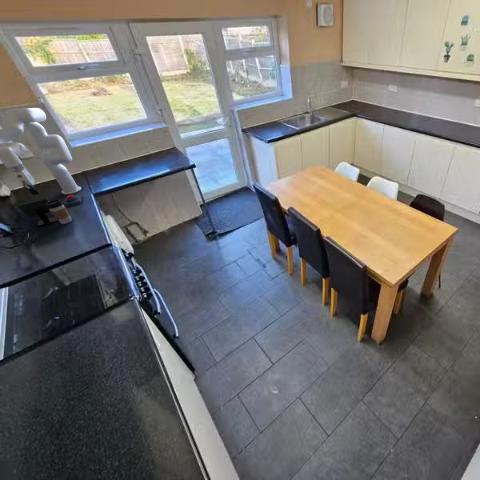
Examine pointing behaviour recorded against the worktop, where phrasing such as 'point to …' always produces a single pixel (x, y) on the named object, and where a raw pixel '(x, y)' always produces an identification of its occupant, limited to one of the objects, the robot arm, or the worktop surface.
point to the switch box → (73, 201)
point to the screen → (34, 206)
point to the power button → (70, 196)
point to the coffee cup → (59, 211)
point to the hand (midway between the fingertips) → (36, 194)
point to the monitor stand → (45, 218)
